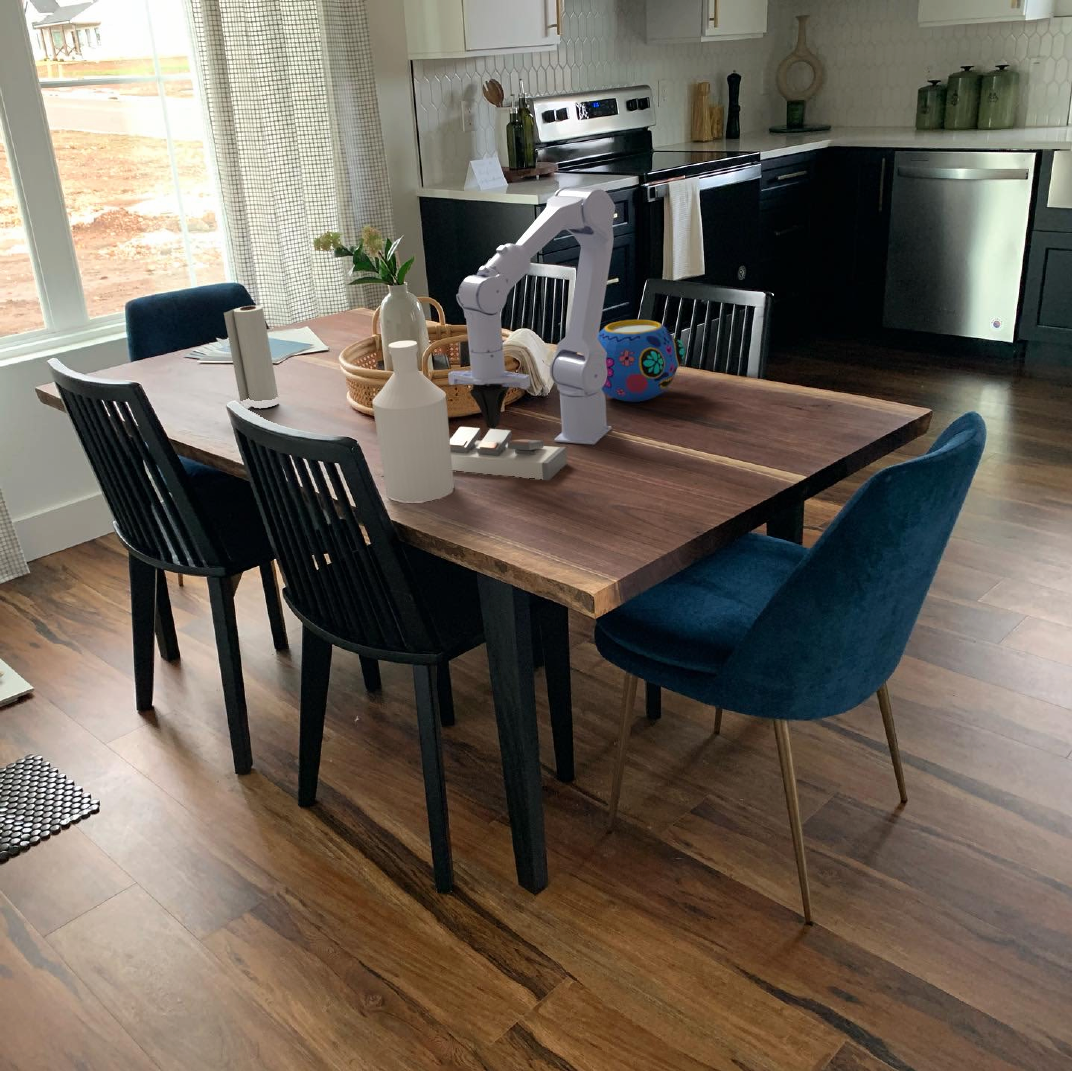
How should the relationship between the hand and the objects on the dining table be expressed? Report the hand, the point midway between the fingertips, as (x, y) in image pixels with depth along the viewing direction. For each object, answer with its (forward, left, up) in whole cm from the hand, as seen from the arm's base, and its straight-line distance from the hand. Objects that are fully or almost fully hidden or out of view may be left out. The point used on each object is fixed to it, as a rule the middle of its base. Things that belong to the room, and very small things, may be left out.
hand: (492, 426), depth 184 cm
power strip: (0, -3, -7) cm, 8 cm away
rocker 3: (0, +6, -3) cm, 7 cm away
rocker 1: (0, -6, -3) cm, 7 cm away
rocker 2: (0, 0, -3) cm, 3 cm away
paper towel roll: (-22, -67, -8) cm, 71 cm away
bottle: (+14, -8, -8) cm, 17 cm away
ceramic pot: (-43, +11, -8) cm, 45 cm away
